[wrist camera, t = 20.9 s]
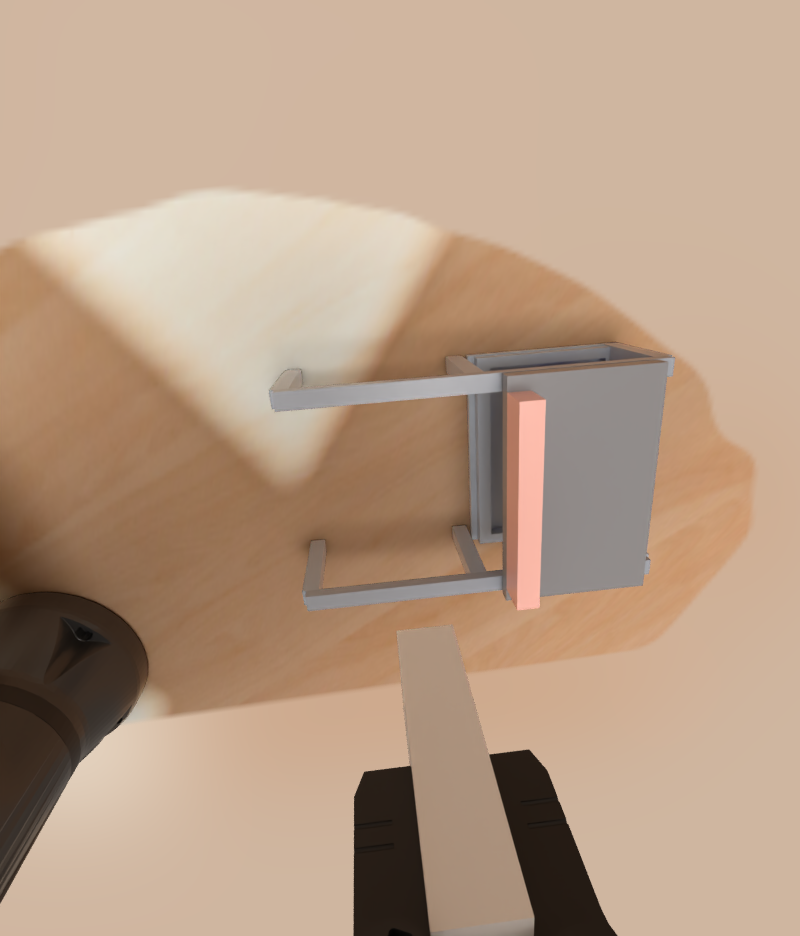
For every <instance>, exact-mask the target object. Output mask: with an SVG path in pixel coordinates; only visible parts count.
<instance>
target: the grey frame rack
mask: <svg viewBox="0 0 800 936" xmlns="http://www.w3.org/2000/svg"><path fill="white" fill-rule="evenodd" d="M650 360H663V361H667V362H669V364H668V373H667V377H670V376H673V369H674V361H675V357H672V355H669V354H665V353H660V352H656V351H652V350H647V349H643V348H639V347H635V346H630V345H626V344H622V343H618V342H610V343H599V344H587V345H575V346H564V347H552V348H540V349H529V350H517V351H505V352H493V353H482V354H470V355H466V359H465V358H464V357H462V356H461V355H458V356H447V357H446V372H447V373H448V374H449V375H440V376H429V377H417V378H406V379H394V380H383V381H371V382H360V383H348V384H337V385H325V386H314V387H302V386H303V380H302V373H301V369H294V370H285V371H284V372H283V374H282V375H281V376H280V377H279V378H278V380H277V381H276V382H275V383H274V385H273V386H272V387H271V388H270V390H269V394H270V400H271V406H272V409H274V410H275V412H278V411H290V410H301V409H312V408H323V407H334V406H346V405H357V404H368V403H379V402H390V401H401V400H413V399H424V398H435V397H446V396H457V395H467V420H468V460H469V499H470V534H469V531H468V529H467V527H466V525H461V526H452V533H453V541H454V543H455V546H456V549H457V551H458V554H459V557H460V559H461V562H462V565H463V567H464V570H465V573H466V574H458V575H449V576H440V577H430V578H421V579H412V580H402V581H393V582H384V583H375V584H365V585H356V586H347V587H337V588H328V589H323V580H324V571H325V562H326V553H327V550H326V543H325V539H324V540H314V541H311V544H310V550H309V556H308V562H307V567H306V573H305V579H304V584H303V590H302V593H303V599H304V605H307V610H308V611H315V610H324V609H333V608H342V607H351V606H360V605H370V604H379V603H388V602H397V601H406V600H415V599H424V598H433V597H443V596H452V595H461V594H470V593H479V592H488V591H497V590H503V570H495V571H486V569H485V567H484V565H483V563H482V560H481V558H480V556H479V554H478V551H477V549H476V547H475V545H474V542H473V540H474V539H478V540H479V543H480V544H482V543H492V542H501V541H503V373H513V372H524V371H536V370H547V369H558V368H570V367H581V366H593V365H604V364H616V363H627V362H638V361H650ZM301 387H302V388H301ZM648 555H649V554H648V553H646V562H645V571H644V574H649V569H650V561H651V560H650V559H649V558H648Z"/></svg>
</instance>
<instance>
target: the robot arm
mask: <svg viewBox="0 0 800 936" xmlns="http://www.w3.org/2000/svg"><path fill="white" fill-rule="evenodd" d="M397 642H398V653H399V664H400V675H401V686H402V696H403V707H404V716H405V726H406V735H407V743H408V744H407V745H408V754H409V763H410V766H407V767H398V768H391V769H384V770H375V771H368V772H364V774H363V776H362V779H361V781H360V784H359V786H358V789H357V791H356V794H355V796H354V936H617V935H616V933H615V932H614V930H613V929H612V928H611V926H610V925H609V924H608V922H607V920H606V918H605V916H604V914H603V912H602V910H601V907H600V905H599V902H598V899H597V897H596V895H595V892H594V889H593V887H592V884H591V882H590V879H589V876H588V874H587V871H586V869H585V866H584V864H583V861H582V858H581V856H580V853H579V851H578V848H577V846H576V843H575V840H574V838H573V835H572V833H571V830H570V828H569V825H568V824H567V822H566V817H565V815H564V812H563V810H562V807H561V805H560V802H559V801H558V798H557V794H556V792H555V789H554V787H553V784H552V781H551V779H550V776H549V774H548V771H547V770H546V769H545V767H544V766H543V765H542V764H541V763H540V762H539V760H538V759H537V758H536V757H535V756H534V755H533V754H532V752H531V751H530V750H522V751H514V752H507V753H499V754H490V755H489V753H488V749H487V746H486V742H485V739H484V735H483V732H482V728H481V725H480V721H479V717H478V714H477V710H476V707H475V703H474V699H473V696H472V693H471V689H470V685H469V681H468V678H467V674H466V671H465V667H464V664H463V660H462V656H461V653H460V649H459V646H458V642H457V638H456V635H455V631H454V628H453V625H444V626H435V627H426V628H417V629H408V630H400V631H397ZM147 674H148V664H147V658H146V654H145V651H144V649H143V646H142V644H141V642H140V641H139V639H138V637H137V636H136V634H135V633H134V632H133V631H132V629H131V628H130V627H129V626H128V625H127V624H126V623H125V622H124V621H123V620H121V619H120V618H119V617H118V616H116V615H115V614H114V613H112V612H111V611H109V610H108V609H106V608H104V607H102V606H100V605H98V604H96V603H94V602H91V601H89V600H86V599H83V598H80V597H77V596H72V595H68V594H62V593H51V592H39V593H29V594H23V595H19V596H15V597H12V598H9V599H7V600H4V601H2V602H0V903H1V901H2V899H3V897H4V896H5V894H6V892H7V890H8V889H9V887H10V885H11V883H12V882H13V880H14V878H15V876H16V874H17V873H18V871H19V869H20V867H21V865H22V864H23V861H24V860H25V858H26V856H27V855H28V853H29V851H30V849H31V847H32V846H33V844H34V842H35V840H36V839H37V837H38V835H39V833H40V831H41V830H42V828H43V826H44V824H45V822H46V821H47V819H48V817H49V815H50V813H51V812H52V810H53V808H54V806H55V805H56V803H57V801H58V799H59V797H60V796H61V793H62V792H63V790H64V788H65V787H66V785H67V782H68V781H69V779H70V777H71V776H72V774H73V772H74V771H75V769H76V767H77V766H78V764H79V763H80V762H81V761H82V760H83V759H84V758H85V757H86V756H87V755H88V754H89V753H90V752H91V751H92V750H93V749H94V748H95V747H96V746H97V745H98V744H99V743H100V742H101V741H102V739H103V738H104V737H105V736H106V735H108V734H109V733H111V732H112V731H113V730H115V729H116V728H117V727H118V726H119V725H120V724H121V723H122V722H123V721H124V720H125V719H126V718H127V717H128V715H129V714H130V713H131V711H132V710H133V708H134V706H135V704H136V703H137V701H138V699H139V697H140V695H141V693H142V691H143V689H144V687H145V684H146V680H147Z"/></svg>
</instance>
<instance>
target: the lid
mask: <svg viewBox="0 0 800 936" xmlns="http://www.w3.org/2000/svg"><path fill="white" fill-rule="evenodd" d="M668 364H669V362H667V361H663V360H650V361H638V362H627V363H616V364H604V365H593V366H581V367H570V368H558V369H547V370H536V371H524V372H513V373H503V594H504V596H505V599H506V601H507V600H512V601H513V603H514V605H515V607H516V609H517V610H525V609H534V608H539V606H540V597H543V596H552V595H561V594H570V593H579V592H588V591H597V590H606V589H615V588H624V587H633V586H642V585H643V579H644V571H645V562H646V553H647V545H648V536H649V528H650V519H651V510H652V502H653V493H654V485H655V476H656V467H657V459H658V450H659V442H660V433H661V424H662V416H663V407H664V399H665V390H666V381H667V373H668Z"/></svg>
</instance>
